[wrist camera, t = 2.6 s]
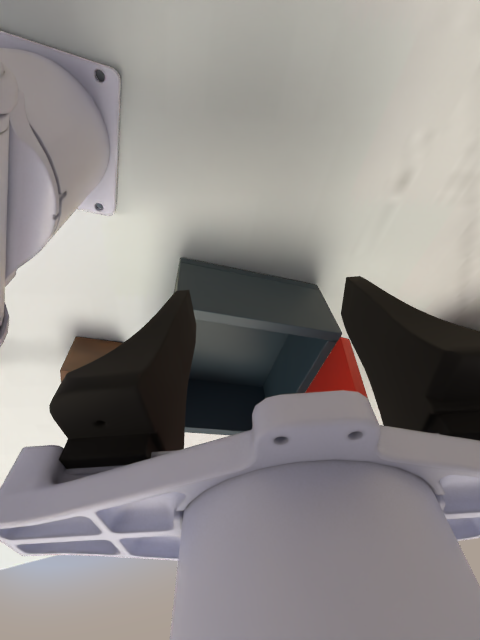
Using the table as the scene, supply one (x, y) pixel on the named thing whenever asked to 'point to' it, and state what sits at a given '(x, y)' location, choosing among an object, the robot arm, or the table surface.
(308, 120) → the table surface
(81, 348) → the block
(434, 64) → the table surface
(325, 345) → the dark grey open box
